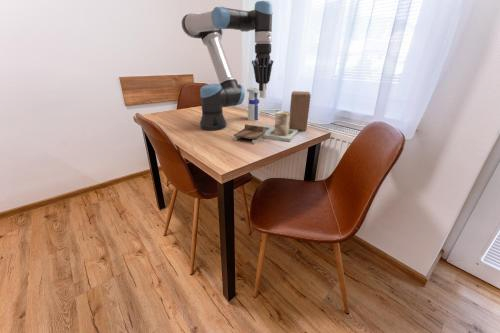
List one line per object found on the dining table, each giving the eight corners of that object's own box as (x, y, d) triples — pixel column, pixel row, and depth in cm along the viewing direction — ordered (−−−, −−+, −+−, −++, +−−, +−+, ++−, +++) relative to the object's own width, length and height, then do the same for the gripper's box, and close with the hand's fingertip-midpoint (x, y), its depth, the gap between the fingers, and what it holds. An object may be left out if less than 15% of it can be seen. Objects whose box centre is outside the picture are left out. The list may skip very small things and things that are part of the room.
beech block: (274, 136, 115) (275, 113, 109) (277, 132, 119) (279, 110, 114) (285, 137, 112) (287, 114, 107) (288, 134, 117) (290, 111, 112)
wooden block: (306, 131, 122) (310, 94, 113) (288, 130, 124) (291, 93, 115) (305, 126, 131) (310, 91, 122) (289, 125, 132) (292, 90, 124)
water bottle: (254, 116, 151) (255, 78, 140) (261, 119, 145) (263, 79, 134) (244, 118, 148) (244, 78, 136) (251, 121, 141) (251, 79, 130)
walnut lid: (234, 136, 108) (233, 130, 107) (244, 129, 118) (244, 124, 117) (256, 139, 104) (256, 133, 103) (265, 132, 114) (265, 126, 112)
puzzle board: (231, 140, 109) (231, 137, 108) (252, 126, 130) (252, 124, 129) (284, 148, 99) (284, 145, 98) (297, 132, 120) (297, 129, 119)
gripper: (259, 42, 92) (259, 99, 103) (278, 43, 101) (276, 96, 111) (247, 43, 97) (248, 98, 107) (266, 44, 106) (265, 95, 116)
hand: (262, 97), depth 109 cm, fingers closed
